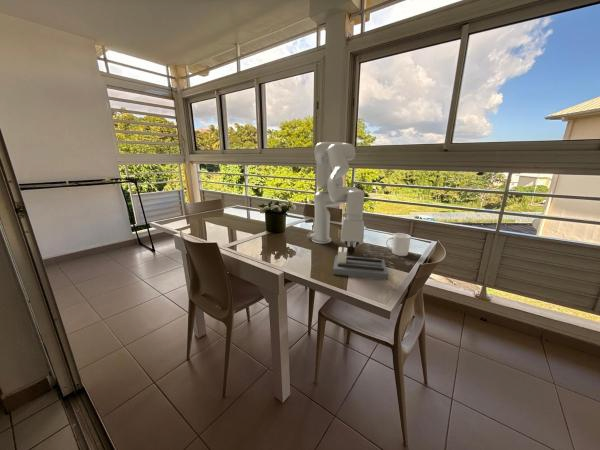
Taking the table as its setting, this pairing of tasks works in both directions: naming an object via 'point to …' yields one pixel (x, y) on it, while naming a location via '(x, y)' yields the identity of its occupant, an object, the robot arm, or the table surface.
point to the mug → (400, 244)
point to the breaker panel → (361, 267)
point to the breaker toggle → (342, 255)
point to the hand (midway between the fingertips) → (350, 253)
